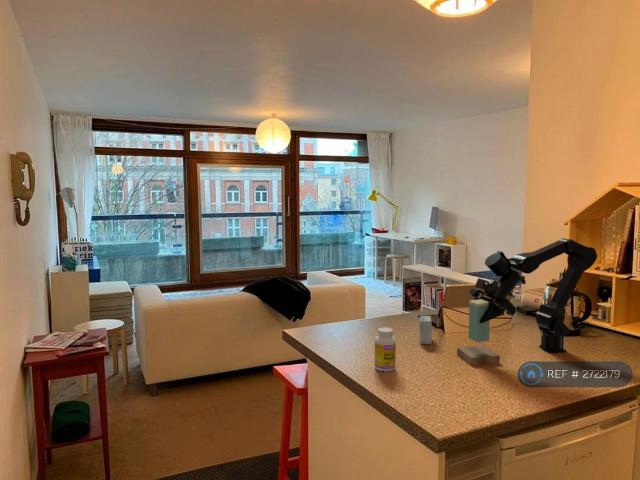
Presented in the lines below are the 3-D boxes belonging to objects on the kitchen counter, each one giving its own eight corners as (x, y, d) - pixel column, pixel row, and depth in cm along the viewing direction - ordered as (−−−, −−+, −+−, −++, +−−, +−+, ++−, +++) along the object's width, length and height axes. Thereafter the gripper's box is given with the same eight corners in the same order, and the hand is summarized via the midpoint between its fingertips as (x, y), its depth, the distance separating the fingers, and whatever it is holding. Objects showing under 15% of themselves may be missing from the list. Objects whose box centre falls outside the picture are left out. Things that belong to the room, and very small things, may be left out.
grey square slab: (484, 353, 163) (484, 345, 163) (499, 364, 153) (499, 355, 153) (457, 355, 162) (457, 347, 161) (470, 366, 152) (471, 357, 152)
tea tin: (480, 336, 159) (481, 299, 158) (489, 340, 155) (490, 302, 153) (468, 338, 158) (469, 300, 157) (476, 342, 153) (477, 304, 152)
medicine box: (431, 344, 172) (432, 321, 171) (419, 344, 173) (419, 321, 172) (431, 337, 180) (431, 315, 179) (419, 337, 181) (419, 315, 180)
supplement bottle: (382, 374, 146) (382, 333, 144) (370, 367, 152) (370, 328, 150) (399, 370, 149) (400, 330, 147) (387, 363, 155) (387, 325, 153)
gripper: (473, 265, 164) (445, 298, 162) (509, 274, 146) (478, 312, 144) (492, 285, 167) (465, 318, 165) (529, 297, 149) (499, 334, 147)
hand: (475, 320), depth 155 cm, fingers closed on tea tin, 5 cm apart
